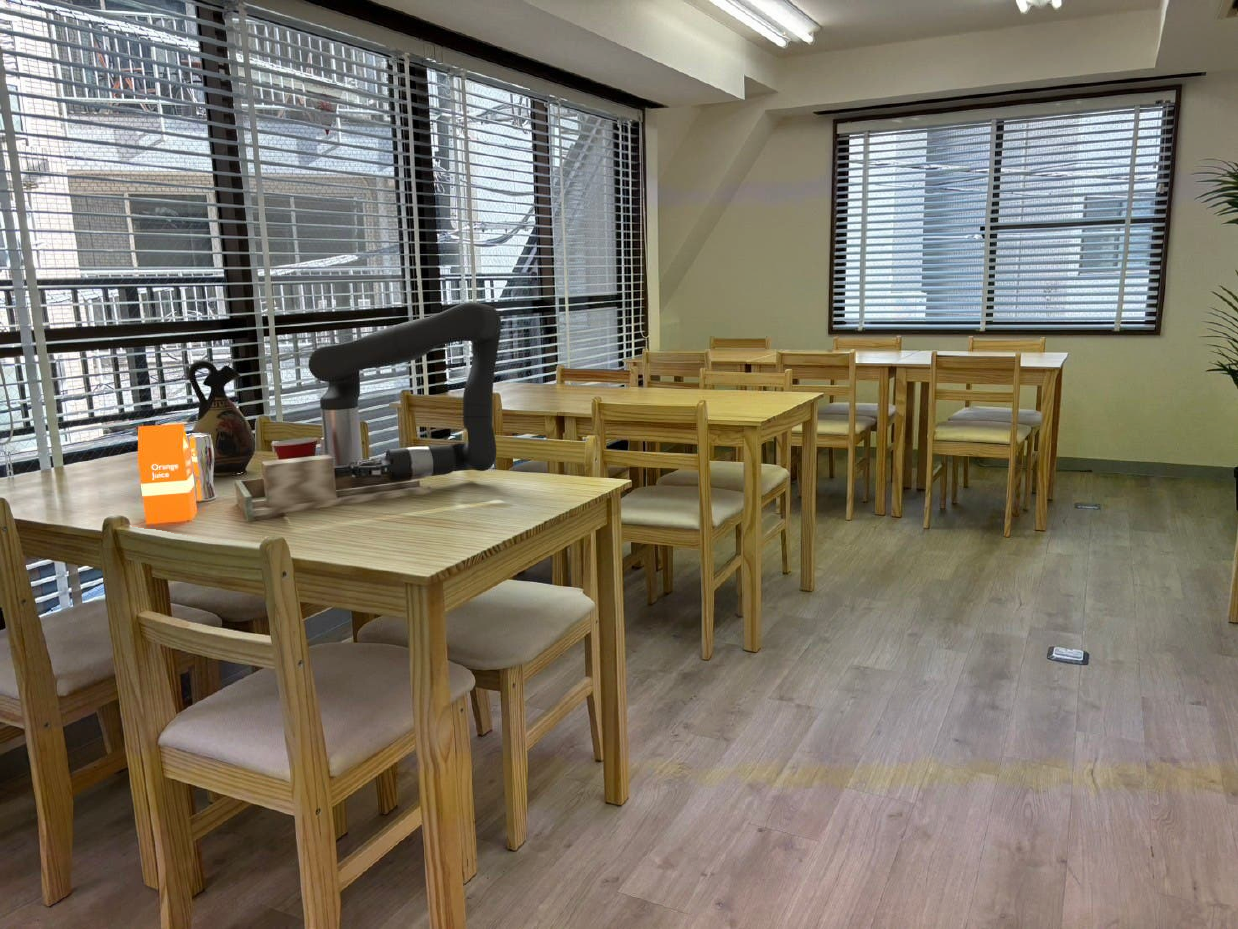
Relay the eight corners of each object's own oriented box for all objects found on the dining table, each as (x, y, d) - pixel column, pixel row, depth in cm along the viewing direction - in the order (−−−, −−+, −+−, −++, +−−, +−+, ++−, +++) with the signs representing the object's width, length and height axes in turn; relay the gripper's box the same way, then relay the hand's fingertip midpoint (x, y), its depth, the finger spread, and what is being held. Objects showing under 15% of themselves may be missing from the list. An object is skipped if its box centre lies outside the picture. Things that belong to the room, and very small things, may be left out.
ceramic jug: (252, 465, 251) (240, 356, 246) (262, 474, 238) (250, 359, 233) (185, 473, 243) (171, 360, 237) (192, 482, 230) (177, 364, 224)
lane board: (247, 521, 189) (245, 496, 188) (237, 503, 205) (234, 480, 204) (432, 496, 207) (430, 474, 206) (408, 481, 223) (407, 460, 222)
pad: (252, 506, 199) (252, 504, 199) (248, 500, 205) (248, 498, 205) (290, 501, 202) (290, 499, 202) (285, 495, 208) (285, 494, 208)
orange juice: (192, 520, 191) (180, 426, 187) (145, 524, 189) (133, 429, 185) (197, 511, 198) (186, 421, 195) (153, 515, 196) (141, 424, 192)
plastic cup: (304, 481, 227) (300, 434, 225) (332, 486, 221) (327, 437, 219) (266, 490, 219) (261, 440, 216) (293, 494, 212) (288, 444, 210)
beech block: (269, 511, 193) (265, 465, 191) (266, 507, 197) (261, 461, 195) (337, 502, 200) (333, 457, 198) (332, 498, 204) (328, 454, 202)
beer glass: (212, 494, 216) (205, 431, 213) (223, 498, 211) (216, 434, 208) (181, 499, 211) (173, 435, 208) (192, 504, 206) (184, 438, 203)
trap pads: (304, 499, 204) (304, 498, 204) (299, 493, 210) (299, 492, 210) (393, 488, 213) (393, 486, 213) (385, 482, 219) (385, 481, 219)
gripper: (400, 443, 214) (324, 451, 206) (416, 451, 202) (336, 460, 194) (402, 474, 215) (327, 484, 207) (418, 484, 204) (339, 494, 196)
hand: (332, 472), depth 201 cm, fingers closed
